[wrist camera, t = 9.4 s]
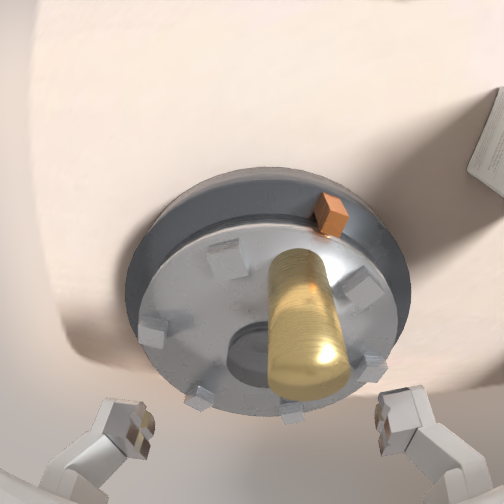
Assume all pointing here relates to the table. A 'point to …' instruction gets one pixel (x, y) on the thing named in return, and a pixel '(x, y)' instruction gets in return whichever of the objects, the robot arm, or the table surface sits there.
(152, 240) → the grey round platform
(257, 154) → the table surface
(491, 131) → the supplement box
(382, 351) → the studded round base
